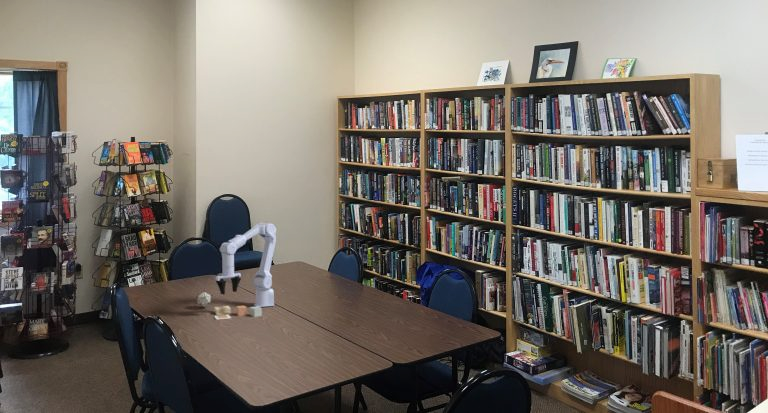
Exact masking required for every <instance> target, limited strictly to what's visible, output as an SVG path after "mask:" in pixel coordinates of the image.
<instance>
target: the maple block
mask: <svg viewBox="0 0 768 413" xmlns="http://www.w3.org/2000/svg"><path fill="white" fill-rule="evenodd" d="M213 311H214V313H215V316H219V315H230V314H232V308H231V306H229V305H222V306H214V310H213Z"/></svg>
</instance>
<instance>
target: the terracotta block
mask: <svg viewBox="0 0 768 413" xmlns="http://www.w3.org/2000/svg"><path fill="white" fill-rule="evenodd" d="M247 308H248V307H247V306H246V305H236V315H237V316H239V317H241V316H247V314H248V313H247V312H248V310H247Z"/></svg>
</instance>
